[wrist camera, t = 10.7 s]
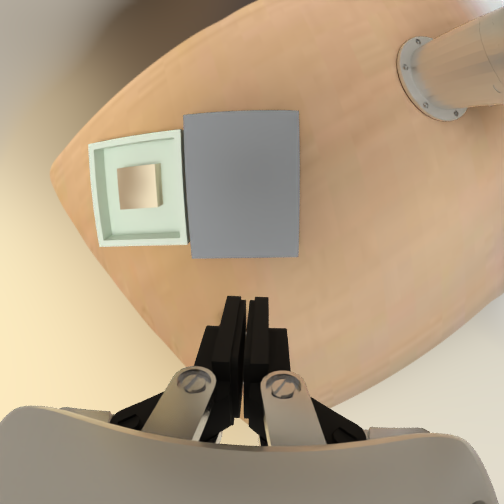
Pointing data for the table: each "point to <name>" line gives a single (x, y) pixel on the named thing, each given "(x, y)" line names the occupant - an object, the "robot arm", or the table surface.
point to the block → (140, 186)
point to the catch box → (142, 219)
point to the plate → (243, 183)
